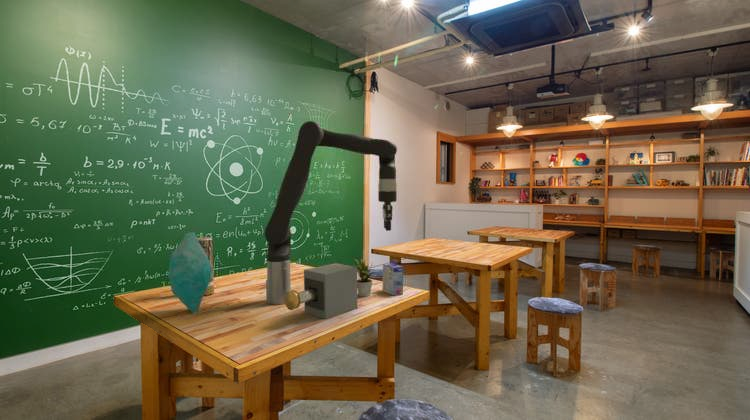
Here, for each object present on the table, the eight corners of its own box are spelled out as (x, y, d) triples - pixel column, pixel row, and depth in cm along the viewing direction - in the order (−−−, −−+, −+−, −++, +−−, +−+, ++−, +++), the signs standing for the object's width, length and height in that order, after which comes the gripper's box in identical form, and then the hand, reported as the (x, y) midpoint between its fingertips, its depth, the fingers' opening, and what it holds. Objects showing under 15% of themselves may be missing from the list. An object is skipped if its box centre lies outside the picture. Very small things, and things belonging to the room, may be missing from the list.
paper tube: (200, 292, 167) (198, 237, 165) (216, 292, 167) (214, 237, 166) (194, 296, 160) (192, 239, 159) (210, 296, 160) (208, 239, 159)
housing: (325, 319, 130) (325, 274, 129) (304, 312, 138) (303, 269, 137) (357, 308, 142) (356, 267, 141) (336, 302, 150) (335, 263, 149)
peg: (295, 311, 124) (295, 293, 123) (284, 307, 128) (284, 289, 128) (328, 301, 135) (328, 284, 135) (317, 298, 139) (317, 281, 139)
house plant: (338, 294, 162) (338, 257, 161) (363, 288, 171) (362, 253, 170) (359, 301, 151) (359, 261, 150) (384, 294, 160) (384, 257, 159)
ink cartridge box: (404, 294, 161) (403, 261, 160) (393, 296, 158) (392, 262, 157) (392, 289, 169) (392, 257, 169) (382, 290, 167) (381, 259, 166)
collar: (322, 310, 130) (321, 282, 130) (304, 305, 137) (304, 278, 136) (323, 310, 131) (323, 282, 130) (306, 304, 137) (305, 278, 137)
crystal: (166, 313, 138) (163, 233, 137) (202, 304, 149) (199, 230, 148) (181, 319, 131) (178, 235, 129) (218, 309, 142) (215, 232, 140)
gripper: (377, 190, 159) (377, 227, 160) (379, 190, 145) (379, 231, 146) (394, 190, 159) (394, 227, 160) (398, 190, 145) (398, 231, 146)
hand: (387, 229), depth 153 cm, fingers open, 8 cm apart
